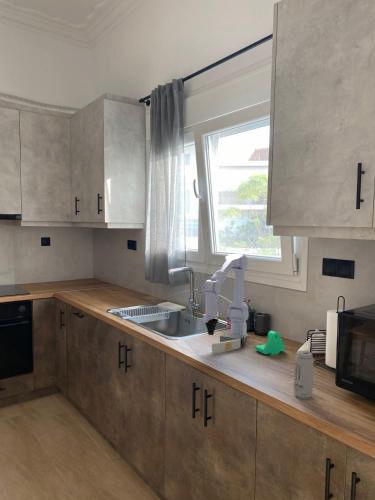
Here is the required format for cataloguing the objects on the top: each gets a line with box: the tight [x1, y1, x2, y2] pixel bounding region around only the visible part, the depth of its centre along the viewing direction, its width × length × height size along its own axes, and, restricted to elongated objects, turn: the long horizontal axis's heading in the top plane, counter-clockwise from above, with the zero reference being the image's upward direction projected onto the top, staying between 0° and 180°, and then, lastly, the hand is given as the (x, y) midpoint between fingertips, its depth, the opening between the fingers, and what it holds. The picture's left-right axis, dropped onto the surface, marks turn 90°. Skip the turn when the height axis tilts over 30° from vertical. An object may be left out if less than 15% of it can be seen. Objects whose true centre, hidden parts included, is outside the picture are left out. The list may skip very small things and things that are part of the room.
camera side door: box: [211, 339, 241, 354], centre depth 178 cm, size 1×16×4 cm, turn 122°
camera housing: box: [219, 332, 246, 348], centre depth 188 cm, size 7×11×4 cm, turn 63°
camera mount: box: [254, 330, 286, 356], centre depth 179 cm, size 12×8×10 cm, turn 120°
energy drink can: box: [293, 350, 315, 400], centre depth 131 cm, size 6×6×15 cm
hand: (210, 334), depth 180 cm, fingers closed
